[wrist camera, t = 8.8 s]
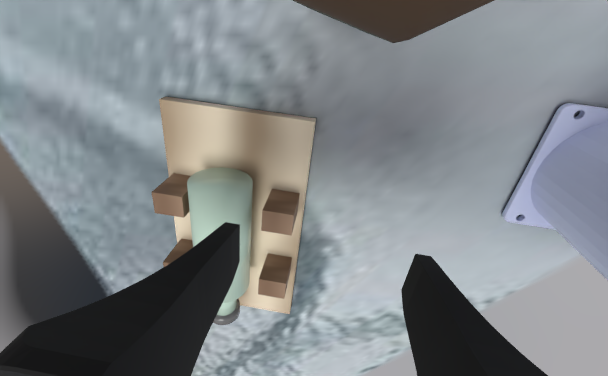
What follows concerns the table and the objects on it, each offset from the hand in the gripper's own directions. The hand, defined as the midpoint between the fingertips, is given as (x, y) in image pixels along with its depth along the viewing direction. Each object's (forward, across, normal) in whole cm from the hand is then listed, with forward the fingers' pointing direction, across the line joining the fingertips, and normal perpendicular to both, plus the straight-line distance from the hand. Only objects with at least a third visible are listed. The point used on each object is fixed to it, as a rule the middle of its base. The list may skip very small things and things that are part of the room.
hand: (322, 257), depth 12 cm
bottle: (+9, +7, +7) cm, 13 cm away
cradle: (+9, +6, +6) cm, 13 cm away
